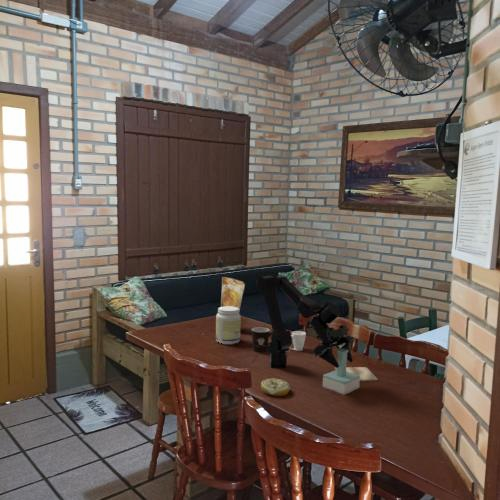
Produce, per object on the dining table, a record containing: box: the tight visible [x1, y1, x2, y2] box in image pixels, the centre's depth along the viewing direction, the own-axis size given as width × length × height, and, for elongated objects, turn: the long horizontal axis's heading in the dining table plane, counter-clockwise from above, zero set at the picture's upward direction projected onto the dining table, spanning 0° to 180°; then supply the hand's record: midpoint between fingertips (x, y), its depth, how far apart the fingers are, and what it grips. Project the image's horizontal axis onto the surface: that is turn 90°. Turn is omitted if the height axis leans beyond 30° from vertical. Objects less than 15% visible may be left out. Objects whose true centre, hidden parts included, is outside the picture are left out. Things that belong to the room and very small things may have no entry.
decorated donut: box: [260, 377, 291, 397], centre depth 180 cm, size 10×11×4 cm
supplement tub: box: [215, 306, 242, 345], centre depth 240 cm, size 12×12×17 cm
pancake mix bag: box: [220, 276, 246, 312], centre depth 262 cm, size 7×19×28 cm, turn 35°
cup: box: [289, 330, 307, 352], centre depth 231 cm, size 7×10×8 cm
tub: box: [322, 376, 361, 396], centre depth 185 cm, size 10×10×4 cm
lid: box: [322, 348, 360, 384], centre depth 185 cm, size 10×10×12 cm
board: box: [334, 366, 379, 382], centre depth 200 cm, size 14×14×1 cm
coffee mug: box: [251, 326, 272, 354], centre depth 227 cm, size 12×9×10 cm
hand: (345, 364), depth 184 cm, fingers open, 9 cm apart
